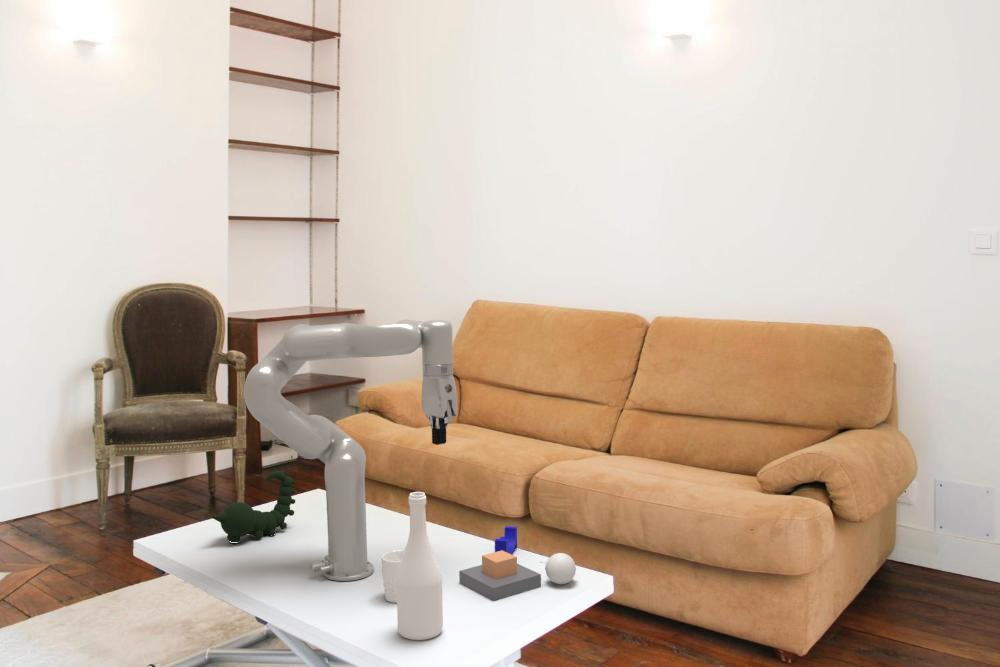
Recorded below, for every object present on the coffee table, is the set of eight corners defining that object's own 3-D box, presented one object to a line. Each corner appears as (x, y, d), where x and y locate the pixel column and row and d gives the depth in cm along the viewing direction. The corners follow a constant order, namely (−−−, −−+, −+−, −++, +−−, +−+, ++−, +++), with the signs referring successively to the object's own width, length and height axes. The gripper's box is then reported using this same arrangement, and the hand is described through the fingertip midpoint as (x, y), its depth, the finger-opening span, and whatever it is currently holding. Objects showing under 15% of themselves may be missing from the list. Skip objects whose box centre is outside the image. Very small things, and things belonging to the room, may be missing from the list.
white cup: (402, 607, 207) (401, 564, 206) (375, 600, 212) (374, 558, 211) (423, 595, 214) (422, 553, 213) (397, 588, 218) (396, 548, 217)
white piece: (582, 583, 220) (582, 554, 219) (559, 591, 215) (559, 561, 214) (554, 572, 228) (554, 543, 227) (531, 579, 223) (531, 550, 222)
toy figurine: (281, 530, 269) (202, 543, 251) (283, 466, 268) (205, 475, 250) (299, 537, 263) (220, 551, 244) (302, 471, 262) (223, 481, 244)
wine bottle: (445, 622, 199) (442, 487, 195) (440, 642, 189) (437, 500, 186) (401, 622, 199) (398, 487, 196) (394, 641, 190) (390, 500, 186)
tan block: (496, 590, 216) (496, 562, 215) (482, 583, 221) (481, 555, 220) (517, 584, 219) (516, 557, 219) (502, 577, 224) (502, 550, 223)
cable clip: (500, 547, 247) (500, 525, 247) (517, 548, 246) (516, 526, 245) (489, 562, 236) (489, 540, 235) (506, 564, 234) (506, 541, 234)
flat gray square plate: (493, 600, 210) (493, 588, 210) (459, 582, 221) (459, 570, 221) (541, 586, 218) (540, 574, 218) (505, 569, 230) (505, 558, 229)
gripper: (467, 372, 222) (468, 446, 224) (434, 366, 234) (435, 436, 236) (441, 375, 218) (442, 451, 220) (409, 368, 230) (410, 440, 232)
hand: (439, 443), depth 228 cm, fingers closed
